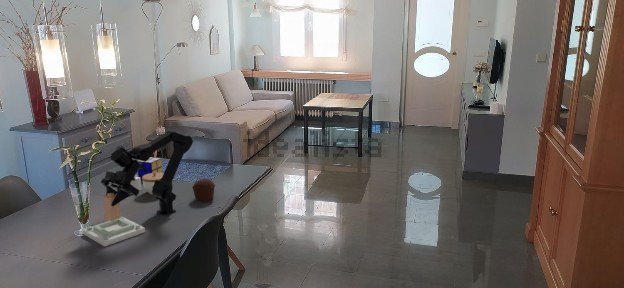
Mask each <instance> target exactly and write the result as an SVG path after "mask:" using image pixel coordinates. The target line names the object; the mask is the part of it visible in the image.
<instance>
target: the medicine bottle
mask: <svg viewBox="0 0 624 288" xmlns="http://www.w3.org/2000/svg"><path fill="white" fill-rule="evenodd" d="M134 178H135V181H133V180H132V181H131V183H130V185H132V186H134V187H135V188H137V189H138V190H139V192H140V191H142V181H141V179H142V178H140V177H138V174H136V175H135V177H134ZM130 195H132V193H130Z"/></svg>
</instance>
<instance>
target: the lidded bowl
mask: <svg viewBox="0 0 624 288" xmlns="http://www.w3.org/2000/svg"><path fill="white" fill-rule="evenodd" d="M163 174H164V172H162V173H156V172H153V173H150V174H146V175H144V176H143V177H142V178H141V179H142V186H143V188H144V190H145V191H146V192H147V193H148V194H149V195H153V193H152V189H153V188H152V187H153V186H154V183H155V181H156V180H158V181H159V180H160V179H161V178H162V176H163ZM153 196H154V195H153Z"/></svg>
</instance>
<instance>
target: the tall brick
mask: <svg viewBox="0 0 624 288" xmlns="http://www.w3.org/2000/svg"><path fill="white" fill-rule="evenodd" d="M116 195H117V194H116ZM116 195H115V194H114V193H108V194H107V195H106V194H105V195H104V196H102V203H103V211H104V219H105V220H106V221H114V220H117V219H119V218H121V217H122V214H121V207H120V205H121V204H120V202H119V203H118V204H116V205H115V206H111V204H112V202H113V200H114V198H115V196H116Z"/></svg>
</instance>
